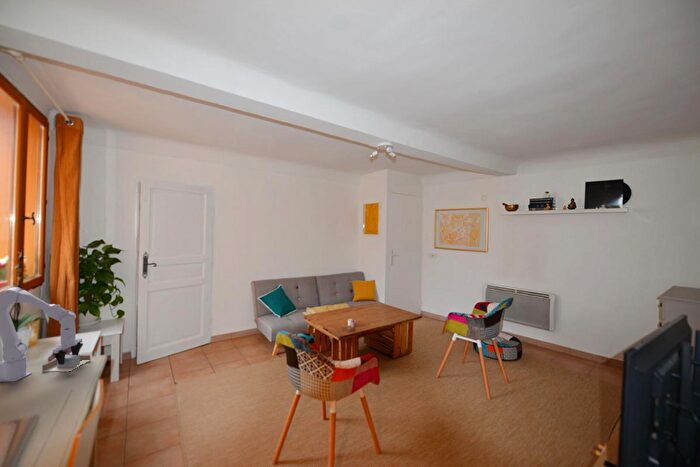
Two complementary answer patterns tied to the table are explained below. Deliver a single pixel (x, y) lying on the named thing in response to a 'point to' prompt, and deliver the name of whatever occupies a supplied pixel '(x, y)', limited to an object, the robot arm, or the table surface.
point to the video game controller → (63, 350)
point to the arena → (52, 367)
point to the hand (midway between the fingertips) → (68, 361)
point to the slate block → (70, 361)
